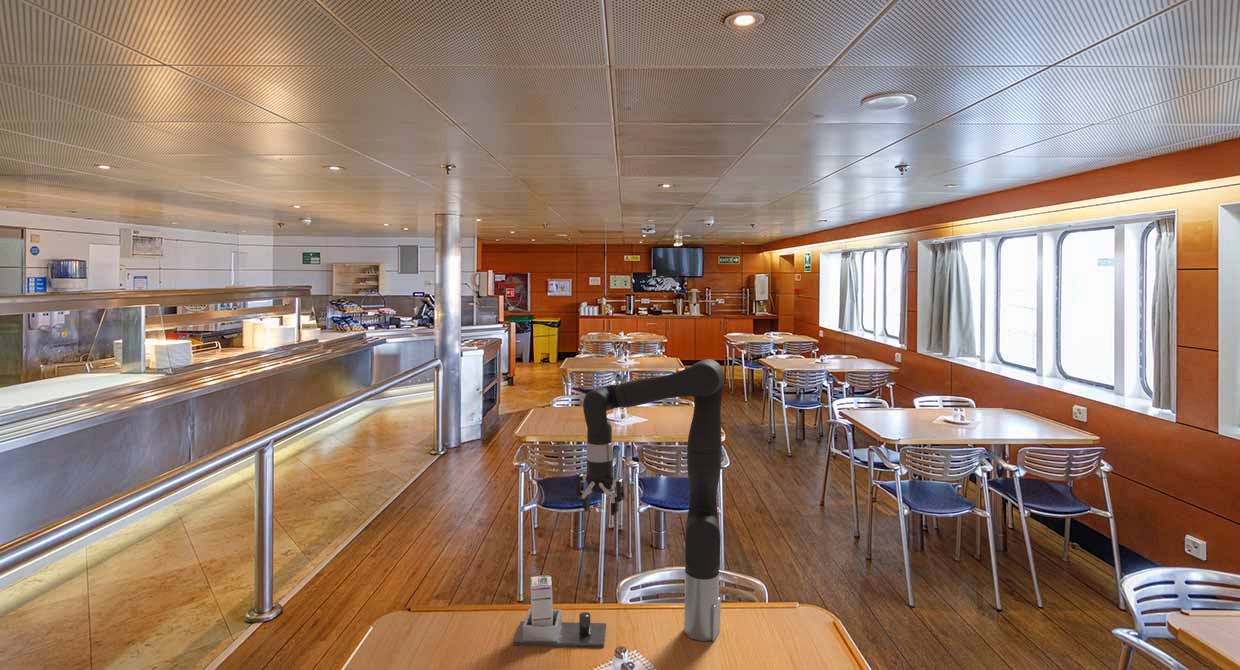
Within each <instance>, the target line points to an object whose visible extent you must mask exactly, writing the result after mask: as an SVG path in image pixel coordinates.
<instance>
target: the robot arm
mask: <svg viewBox="0 0 1240 670" xmlns="http://www.w3.org/2000/svg"><path fill="white" fill-rule="evenodd" d="M724 385H725V373H724V369H723V368H722V366H721V364H720V363H719V362H717V361H716V360H714V359H711V358H706V359H705V358H704V359H702V360H700V361H697V362H695V363H692V365H691V366H688V367H686V368H684V369H681V370H680V371H677V372H673V373H669V374H667V375H661V376H653V377H644V378H638V379H634V380H629V381H625V382H621V383H619V384H618V383H617V384H609V385H605V386H601V387H597V388H595V389H592V390H590V391H588V392H587V393H586V394H585V396H584V398H583V403H582V404H583V406H582V409H583V416H584V420H585V423H586V428H587V431H586V434H587V435H586V436H587V439H586V440H587V441H586V442H587V443H586V455H585V456H586V473H587V475H585V473H580V474H579V475H577V476H576V487H575V488H576V489H575V490H576V491H575V492H576V493H575V494H576V496H579V497H581V499H582V509H583V511H584V512H588V511H590V509H591V507H590V506H591V505H590V504H591V498H590V495H591V493H592V492H593V493H599V494H605V496H606V497H607V498H609V500H610V502H611V503H610V515H611V516H613V517H614V516H615V515H616V514H617V513H618V511H619V503H620V502H622V501H623V500H624V499H625V487H624V479H623V478H620V479H615V478H614V477H613V473H614V455H613V454H614V450H613V442H612V441H613V440H612V439H613V433H612V430H613V429H612V424H611V422H610V421H608V415H607V411H610V410H615V409H618V408H633V407H636V406H637V407H638V406H641V405H646V404H650V403H654V402H659V401H662V400H663V401H664V400H669V399H673V398H681V397H682V398H683V397H686V398H687V397H693V399H694V401H693V403H694V407H693V414H692V417H691V418H692V419H691V424H690V427H689V432H688V437H687V443H686V444H687V445H686V446H687V449H686V450H687V451H686V466H687V467H686V468H687V478H688V486H689V503H688V509H687V510H688V511H687V518H686V522H685V540H684V541H685V542H684V543H685V544H684V545H685V548H684V549H685V550H684V551H685V552H684V555H685V557H684V565H685V566H684V618H683V619H684V623H683V625H684V627H683V628H684V631H683V632H684V634H685V633H686V634H685V635H686V636H687V637H688V638H690V639H692V640H694V639H695V641H700V642H706V641H707V642H708V641H711V640H712V641H711V642H715V641H716V638H717V637H718V635H719V633H720V631H721V612H722V611H721V608H722V607H721V601H722V600H721V599H722V598H721V597H720V595H719V594H720V592H719V589H720V565H721V564H720V563H721V529H720V528H721V527H720V522H719V516H718V502H717V494H718V493H717V491H718V486H719V481H720V476H721V470H722V450H723V449H722V421H721V420H722V419H721V413H722V412H721V410H722V408H721V407H722V399H723V392H724V390H723V389H724ZM585 482H586V483H587V484H588V486H587V488H585ZM613 486H614V487H613ZM614 488H615V489H616V491H615V489H614Z"/></svg>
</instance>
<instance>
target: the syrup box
mask: <svg viewBox="0 0 1240 670" xmlns="http://www.w3.org/2000/svg"><path fill="white" fill-rule="evenodd" d="M553 602H554V601H553V586H552V576H551V575H537V576H530V609H531V620H532V625H546V626H553V609H554V608H553Z"/></svg>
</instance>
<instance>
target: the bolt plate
mask: <svg viewBox="0 0 1240 670" xmlns="http://www.w3.org/2000/svg"><path fill="white" fill-rule="evenodd" d="M562 612H563V610H562V609H561V608H560V609H559V608H553V626H546V625H532V620H531V608H528V610H527V613H526V616H525V619H524V621H523V620H522V621H520V622H519V625H518V628H517V631H516V634H515V638H514V639H513V646H521V647H522V646H523V647H524V646H525V647H526V646H529V647H571V648H573V647H574V648H576V647H577V648H605V641H606V631H607V630H606V629H607V623H606V622H591V613H590V612H586V611H584V612H581V613H579V615H578V616H579V621H578V622H574V621H573V622H566V621H565V622H564V621H563V619H562V618H563V616H562ZM562 621H563V622H562Z"/></svg>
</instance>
